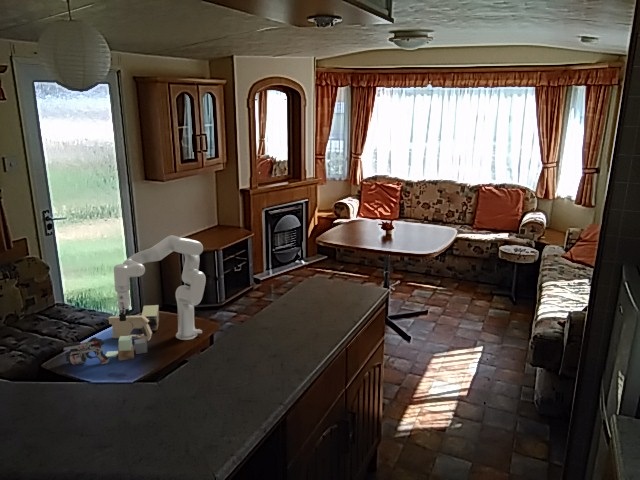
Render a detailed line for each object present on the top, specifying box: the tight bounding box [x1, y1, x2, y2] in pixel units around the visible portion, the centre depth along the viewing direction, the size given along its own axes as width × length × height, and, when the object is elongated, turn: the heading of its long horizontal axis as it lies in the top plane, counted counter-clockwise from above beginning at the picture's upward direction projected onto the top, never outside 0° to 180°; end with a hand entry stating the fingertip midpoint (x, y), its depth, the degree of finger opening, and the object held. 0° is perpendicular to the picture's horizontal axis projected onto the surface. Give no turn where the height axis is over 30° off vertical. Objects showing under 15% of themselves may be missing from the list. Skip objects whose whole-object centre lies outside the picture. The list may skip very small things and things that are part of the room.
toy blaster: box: [62, 336, 110, 365], centre depth 277 cm, size 4×21×15 cm, turn 95°
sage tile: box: [104, 350, 118, 358], centre depth 289 cm, size 6×6×1 cm
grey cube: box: [133, 338, 148, 355], centre depth 295 cm, size 6×6×6 cm
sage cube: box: [118, 336, 133, 351], centre depth 286 cm, size 6×6×6 cm
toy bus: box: [140, 304, 160, 331], centre depth 330 cm, size 10×23×10 cm, turn 14°
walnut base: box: [117, 344, 135, 361], centre depth 288 cm, size 8×8×5 cm
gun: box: [108, 314, 153, 342], centre depth 309 cm, size 24×3×15 cm, turn 84°
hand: (124, 317), depth 283 cm, fingers open, 9 cm apart
